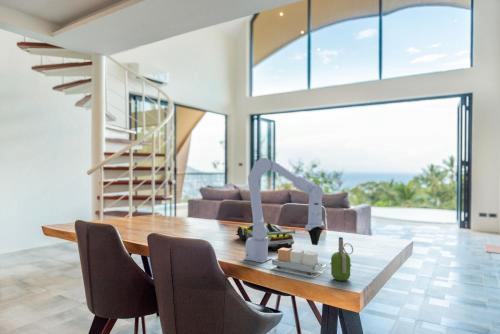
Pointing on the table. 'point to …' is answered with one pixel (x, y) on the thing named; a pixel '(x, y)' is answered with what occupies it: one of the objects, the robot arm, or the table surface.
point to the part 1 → (296, 256)
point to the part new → (284, 254)
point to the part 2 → (310, 259)
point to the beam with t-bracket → (297, 266)
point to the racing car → (270, 236)
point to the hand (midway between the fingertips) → (314, 244)
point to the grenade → (341, 263)
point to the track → (298, 271)
